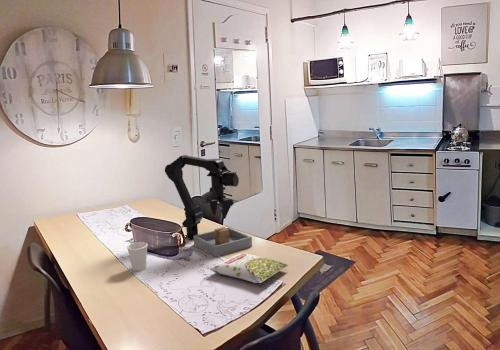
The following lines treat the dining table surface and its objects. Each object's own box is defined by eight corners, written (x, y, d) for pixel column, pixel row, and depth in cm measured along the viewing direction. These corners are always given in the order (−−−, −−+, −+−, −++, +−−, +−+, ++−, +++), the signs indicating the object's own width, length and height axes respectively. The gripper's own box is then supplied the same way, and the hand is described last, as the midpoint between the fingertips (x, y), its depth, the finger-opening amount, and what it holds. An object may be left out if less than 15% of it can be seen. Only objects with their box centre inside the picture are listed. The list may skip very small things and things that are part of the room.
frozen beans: (260, 275, 149) (207, 262, 163) (260, 290, 150) (207, 276, 164) (289, 257, 166) (238, 247, 180) (289, 271, 167) (238, 260, 181)
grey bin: (193, 244, 200) (193, 235, 199) (229, 235, 212) (228, 227, 211) (215, 256, 184) (214, 247, 183) (252, 246, 195) (251, 237, 195)
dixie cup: (138, 273, 169) (136, 250, 167) (124, 269, 173) (122, 247, 172) (153, 266, 176) (151, 243, 174) (139, 262, 180) (137, 240, 179)
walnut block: (215, 243, 198) (214, 229, 197) (224, 240, 201) (223, 227, 200) (220, 246, 194) (219, 231, 193) (229, 243, 197) (229, 229, 196)
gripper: (193, 185, 203) (195, 216, 206) (212, 191, 188) (214, 224, 191) (213, 181, 209) (214, 211, 212) (233, 187, 194) (234, 219, 197)
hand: (219, 216), depth 203 cm, fingers open, 9 cm apart
